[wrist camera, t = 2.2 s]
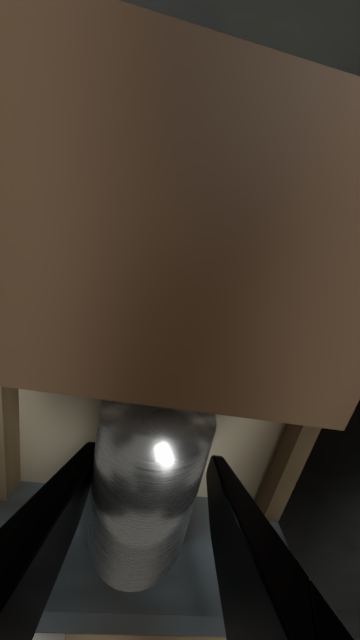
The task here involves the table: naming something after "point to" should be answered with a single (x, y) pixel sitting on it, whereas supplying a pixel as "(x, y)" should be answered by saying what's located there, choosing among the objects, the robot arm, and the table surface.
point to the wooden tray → (196, 553)
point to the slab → (176, 216)
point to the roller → (144, 489)
